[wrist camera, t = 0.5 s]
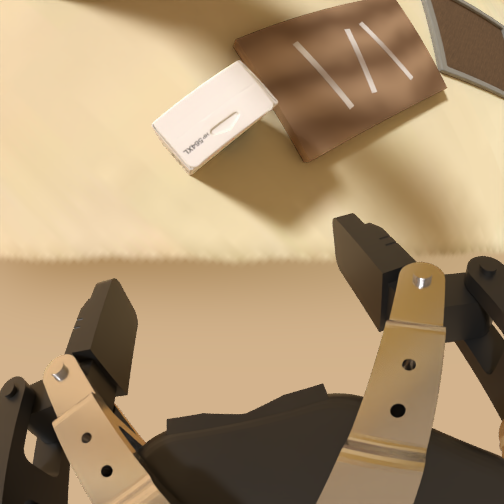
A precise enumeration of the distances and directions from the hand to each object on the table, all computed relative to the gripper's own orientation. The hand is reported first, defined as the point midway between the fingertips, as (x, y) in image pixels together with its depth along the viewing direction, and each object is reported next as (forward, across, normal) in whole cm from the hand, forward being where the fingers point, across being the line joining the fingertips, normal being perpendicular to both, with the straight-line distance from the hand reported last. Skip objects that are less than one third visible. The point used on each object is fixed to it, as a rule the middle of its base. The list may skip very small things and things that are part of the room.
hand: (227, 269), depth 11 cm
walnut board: (+29, -20, -5) cm, 36 cm away
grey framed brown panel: (+36, -52, -9) cm, 64 cm away
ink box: (+25, 0, 0) cm, 25 cm away
